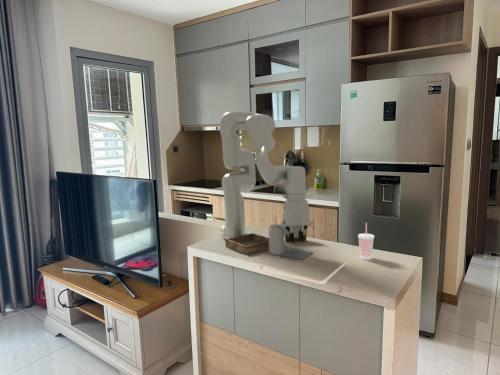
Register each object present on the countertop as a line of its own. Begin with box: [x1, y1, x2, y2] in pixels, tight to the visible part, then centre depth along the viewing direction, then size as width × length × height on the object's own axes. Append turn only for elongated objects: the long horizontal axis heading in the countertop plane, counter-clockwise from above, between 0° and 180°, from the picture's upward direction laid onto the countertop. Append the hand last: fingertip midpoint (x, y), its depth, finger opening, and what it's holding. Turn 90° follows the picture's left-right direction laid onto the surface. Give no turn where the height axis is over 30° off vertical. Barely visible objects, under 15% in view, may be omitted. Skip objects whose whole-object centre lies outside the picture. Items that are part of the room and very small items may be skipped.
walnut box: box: [224, 232, 269, 256], centre depth 158 cm, size 16×16×4 cm
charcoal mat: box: [279, 248, 313, 261], centre depth 147 cm, size 10×10×1 cm
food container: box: [284, 224, 309, 243], centre depth 166 cm, size 12×6×10 cm, turn 84°
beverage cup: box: [357, 222, 375, 260], centre depth 140 cm, size 6×6×14 cm
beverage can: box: [268, 224, 285, 256], centre depth 149 cm, size 6×6×12 cm
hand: (296, 241), depth 146 cm, fingers closed
